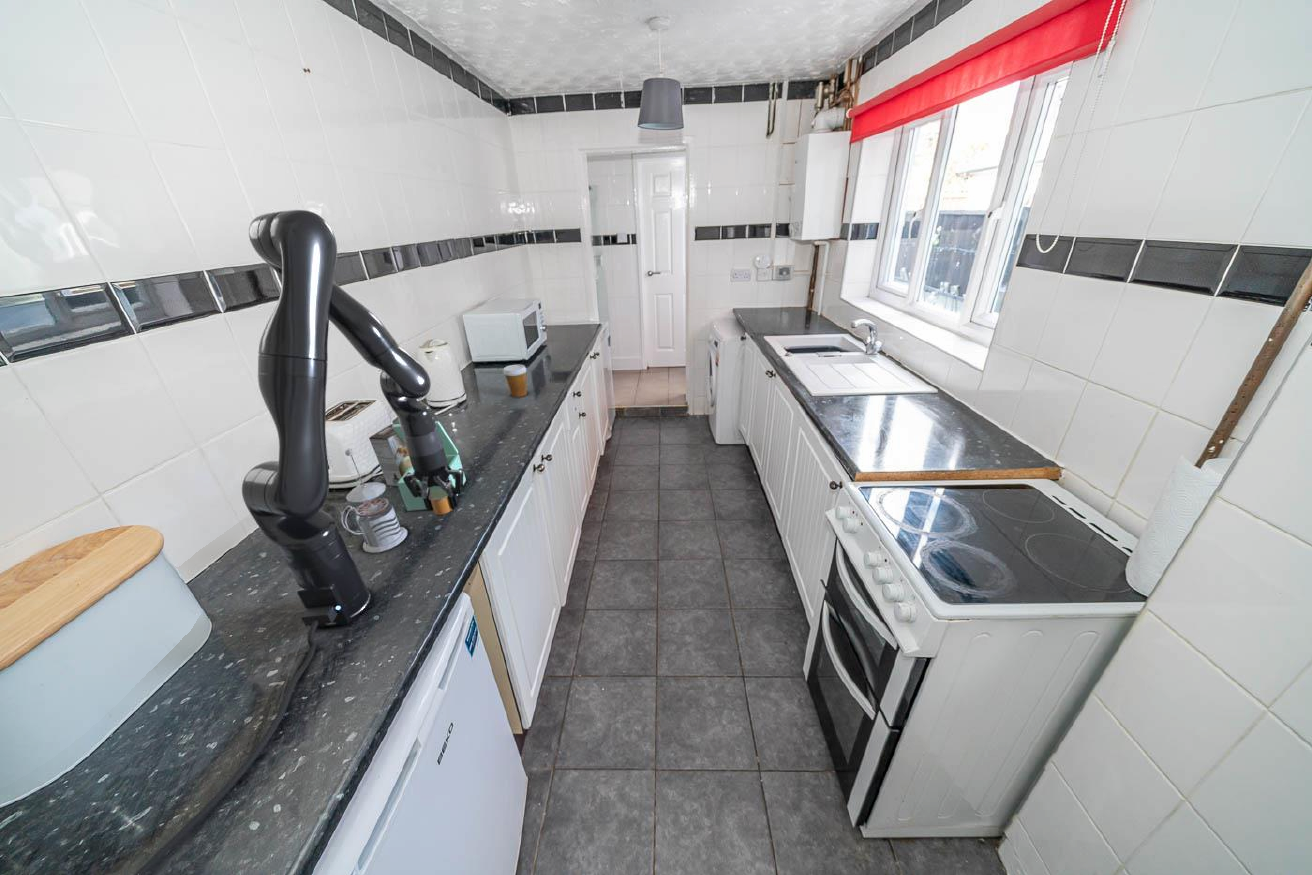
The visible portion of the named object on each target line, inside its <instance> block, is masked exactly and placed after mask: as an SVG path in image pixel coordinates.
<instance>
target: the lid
mask: <svg viewBox="0 0 1312 875" xmlns="http://www.w3.org/2000/svg"><path fill="white" fill-rule="evenodd" d="M432 413H433V417H434V420H435V424H436V427H437V430H438V432H439V434H440V437H441V440H442V442H443V448H444V451H445V455H455V454H459V450H458V448H457V447H456V446H455V444H454V442H453V441H452V439H451V437H450V436H449V435H448V433H447V432H446V430H445V428H444V427H443V425H442V424H441V422H440V421H439V420H436V417H437V416H436V413H435V412H432ZM392 427H393V428H394V430H395V431H396V432H397V433H398V435H399V436H400V437H401V438H402V440H403V441H404V442H405V440H404V435H403V432H402V429H401V425H400V423H396V424H395V425H393V426H392Z"/></svg>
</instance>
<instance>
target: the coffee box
mask: <svg viewBox="0 0 1312 875" xmlns="http://www.w3.org/2000/svg"><path fill="white" fill-rule="evenodd" d="M393 425H395V424H394V423H391V424H389V425H387V426H386V427H384V428H382V429H380V430H378V431H377V432H376V433H374V434H373V435H371V436H369V437H368V440H369V441H370V444H371V446H372V449H373V451H374V454H375V456H376V460H377V462H378V464H379V467H380V470H381V472H382V474H383V477H384V480H385V482H386V486H391V487H398V484H397V483H398V482H399V480H400V479H401V478H402V477H403V475H404V474H405V473H406V471H407V470H408V469H409V468H410V466H411V465H412V464H411V461H410V458H409V454H408V451H407V448H406V445H405V442H404V441H403V440H402V438H401V437H400V436H399V435H398V433H397V432H396V431H395V430H394V428H393V427H392V426H393Z"/></svg>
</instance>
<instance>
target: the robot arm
mask: <svg viewBox="0 0 1312 875" xmlns="http://www.w3.org/2000/svg"><path fill="white" fill-rule="evenodd" d="M248 238H249V241H250V244H251V246H252V248H253V250H254V251H255V252H256V254H257V255H258V256H259V257H260V258H261V259H262V260H263V261H264V262H265V263H266V264H267V265H268V266H269V267H270V268H272V269H273V270H274V271H275V272H276V273H277V274H278V275H279V276H280V277H281V287H280V288H281V289H280V294H279V298H278V300H277V303H276V304H275V308H274V310H273V311H272V313H271V315H270V317H269V319H268V321H267V323H266V325H265V327H264V330H263V332H262V335H261V337H260V340H259V344H258V357H257V383H258V388H259V392H260V395H261V397H262V399H263V402H264V404H265V406H266V408H267V410H268V413H269V414H270V416H271V420H272V421H273V424H274V426H275V428H276V432H277V436H278V437H277V438H278V460H270V461H264V462H261V463H259V464H256V465H255V466H254V467H252V468H251V469H250V470H249V471H248V472H247V473H246V475H245V476H244V478H243V481H242V485H241V495H242V500H243V503H244V505H245V506H246V509H247V510H248V512H249V514H250V515H251V517H252V518H253V520H254V521H255V523H256V524H257V526H258V528H259V530H260V531H261V533H262V534H263V535H264V537H265V538H266V539H267V540H268V541H269V542H270V543H271V544H272V545H273V546H275V547H276V548H277V550H278V551H279V553H280V554H281V556H282V558H283V560H284V562H285V563H286V565H287V567H288V569H289V571H290V572H291V574H292V576H293V578H294V579H295V581H296V583H297V586H298V587H299V588H298V589H297V590H296V594H297V595H298V597H299V599H300V601H301V603H302V604H303V606H304V608H305V609H306V610H305V611H304V612H303V614H301V616H300V619H301V620H302V622H303V624H304V626H305V627H308V626H310V627H309V630H308V634H307V643H308V645H309V646H308V647H309V648H308V652H307V656H306V657H305V660H304V661H303V663H302V665H301V666H300V667H299V669H298V670H297V671H296V672H295V674H294V675H293V677H292V679H291V680H290V683H288V685H287V689H286V691H285V693H284V696H283V698H282V701H281V704H280V705H279V708H278V711H277V713H276V715H275V717H274V719H273V721H272V723H271V725H270V726H269V728H268V729H267V731H266V733H265V734H264V735H263V737H262V739H261V740H260V742H259V743H258V744H257V746H256V747H255V749H254V750H253V751H252V753H251V754H250V755H249V756H248V758H247V759H246V760H245V761H244V762H243V764H242V765H241V766H240V768H238V770H237V771H236V772H235V773H234V775H233V776H232V777H231V778H230V779H229V780H228V781H227V783H226V784H225V785H224V786H223V787H222V788H221V789H220V790H219V792H217V794H215V795H214V797H213V798H212V799H211V800H209V802H208V803H207V804H206V805H204V807H203V808H201V810H200V811H199V812H198V813H197V814H195V815H194V816H193V817H192V818H191V819H190V820H189V822H187V823H186V824H185V825H184V826H183V827H182V828H181V829H180V830H179V831H177V833H176V834H175V835H174V836H173V837H172V838H171V839H170V840H169V841H167V843H166V844H164V845H163V847H161V848H160V850H158V851H157V852H156V853H155V854H154V855H153V856H152V857H151V858H150V859H149V860H148V861H147V862H145V863H144V865H143V866H141V867H140V868H139V869H138V870H137V871H136V872H135V873H133V875H138V874H139V875H146V874H148V872H149V871H150V870H151V869H153V867H154V866H155V865H156V864H157V863H158V862H160V861H161V860H162V859H163V858H164V857H165V856H166V855H167V854H168V853H169V852H171V850H172V849H173V848H174V847H175V846H176V845H177V844H179V842H180V841H182V839H183V838H184V837H185V836H186V835H187V834H188V833H189V832H190V831H191V830H192V829H193V828H194V827H195V826H196V825H197V824H198V823H200V821H201V820H202V819H203V818H204V817H206V816H207V814H209V812H211V811H212V810H213V809H214V808H215V806H217V804H219V802H220V801H221V800H222V799H223V798H224V797H225V796H226V795H227V794H228V793H229V791H231V789H233V787H234V786H235V785H236V784H237V783H238V782H239V780H240V779H241V778H242V777H243V776H244V775H245V773H246V772H247V771H248V769H249V768H250V767H251V766H252V764H253V763H254V762H255V761H256V760H257V759H258V757H259V756H260V754H261V753H262V751H264V749H265V748H266V747H267V744H268V743H269V741H270V740H271V738H272V737H273V735H274V733H275V732H276V730H277V728H278V727H279V726H280V723H281V721H282V719H283V717H284V715H285V713H286V711H287V709H288V707H289V703H290V700H291V698H292V695H293V692H294V690H295V687H296V685H297V683H298V682H299V679H300V678H301V677H302V675H303V674H304V672H305V671H306V669H307V667H308V666H309V664H310V662H311V660H312V659H313V656H314V655H315V653H316V648H317V642H316V641H315V635H316V634H315V633H316V630H317V628H324V627H336V626H344V625H345V626H346V625H349V624H350V623H351V621H352V620H353V619H355V618H357V617H358V616H359V615H361V614H362V613H363V612H364V611H365V610H366V609H367V608H368V606H369V605H370V604H371V600H372V595H371V592H370V590H368V588H367V585H366V583H365V581H364V578H363V577H362V575H361V572H360V570H359V568H358V565H357V563H356V562H355V558H354V557H353V555H352V553H351V551H350V548H349V547H348V544H347V542H346V539H345V537H344V536H343V533H342V531H341V529H340V526H339V525H338V522H337V520H336V519H335V517H333V516H332V515H331V514H329V513H328V512H326V511H324V510H323V509H322V507H323V506H324V505H325V503H326V501H327V498H328V495H329V490H330V472H329V463H328V452H327V440H326V439H327V438H326V436H327V435H326V424H327V423H326V419H327V417H326V416H327V415H326V412H327V411H326V410H327V409H326V408H327V407H326V404H327V401H326V400H327V384H328V364H329V355H328V354H329V353H328V345H329V344H328V342H329V330H330V329H329V328H330V327H329V326H330V323H331V324H332V325H333V326H334V327H335V328H336V329H337V330H338V331H339V332H340V333H341V335H342V336H344V338H345V339H346V340H347V341H348V342H349V343H350V345H351V346H352V348H354V350H355V351H356V352H357V353H358V354H359V356H361V358H362V359H363V360H364V362H366V363H367V364H368V365H370V366H371V367H374V368H376V369H379V370H380V371H381V372H380V373H379V387H380V390H381V392H382V394H383V396H384V398H385V400H386V401H387V403H388V405H389V406H390V408H391V410H392V411H393V412H394V414H395V415H396V417H397V419H398V422H399V424H400V425H401V429H402V432H403V435H404V440H405V445H406V448H407V451H408V454H409V458H410V461H411V464H412V467H413V469H414V473H410V472H408V473H407V474H406V475H405V477H404V478H403V481H404V482H405V484H406V485H407V487H408V489H409V490H410V492H411V493H412V495H413V496H414V497H421V498H422V499H423V500H424V503H425V506H426V508H427V509H426V510H428V512H432V511H433V508H432V504H431V501H430V500H429V498H428V496H429V494H430V489H431V487H433V486H438V487H439V486H440V487H441V488H442V490H443V491H445V492H446V493H447V494H448V495H449V497H448V498H449V502H450V505H451V508H452V510H455V509H457V507H458V505H459V503H460V502H459V498H458V496H457V494H458V495H460V494H461V492H462V490H463V489H464V485H463V471H464V469H461V468H460V469H459V470H453V469H451V468H450V467H449V466H448V463H447V458H446V455H445V451H444V448H443V442H442V440H441V437H440V434H439V432H438V430H437V427H436V424H435V421H436V419H434V417H433V413H434V412H433V410H432V409H431V407H430V406H429V405H428V404H425V403H424V402H423V401H421V400H420V399H421V398H423V397H425V396H426V395H427V394H428V393H429V392H430V390H431V384H432V383H431V379H430V375H429V374H428V372H427V370H426V369H425V368H424V366H423V365H422V364H421V363H420V362H419V361H418V360H416V359H415V358H414V357H413V356H412V355H411V354H410V353H409V352H407V351H406V350H405V349H404V348H402V347H401V346H400V345H399V344H398V342H397V341H396V339H395V338H394V337H393V335H392V334H391V333H390V331H389V330H388V329H387V327H386V326H385V324H383V322H382V321H381V319H379V318H378V317H377V316H376V315H375V314H374V313H373V312H372V311H370V309H369V308H367V307H366V306H365V305H363V304H362V303H361V302H359V300H357V299H356V298H354V297H353V296H352V295H350V294H349V293H348V292H346V291H345V290H344V289H343V288H342V287H340V286H339V285H338V283H336V282H335V281H334V279H335V274H336V273H335V272H336V266H337V260H338V245H337V244H338V243H337V240H336V236H335V233H334V231H333V229H332V228H331V226H330V224H329V223H328V222H327V221H326V219H324V218H323V217H322V216H320V215H319V214H317V213H315V212H313V211H310V210H306V209H289V210H283V211H275V212H268V213H263V214H260V215H258V216H256V217H255V218H253V219H252V221H251V222H250V224H249V228H248ZM450 474H451V475H452V476H453V479H455V487H454V485H453V484H452V481H451V479H450V478H449V475H450ZM416 478H417V479H418V480H419V481H420V482H422V489H421V488H420V486H419V484H418V483H417V481H416ZM433 512H434V511H433Z"/></svg>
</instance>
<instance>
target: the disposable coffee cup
mask: <svg viewBox="0 0 1312 875" xmlns="http://www.w3.org/2000/svg"><path fill="white" fill-rule="evenodd" d="M502 373H503V375H504V376H505V379H506V382H507V386H508V387H509V390H510V394H511V396H512V397H514V398H520V397H525V396H526V395H527V394H528V388H527V386H528V385H527V367H526V366H525V365H524V364H510V365H507V366H505V367H504V368H503V372H502Z"/></svg>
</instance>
